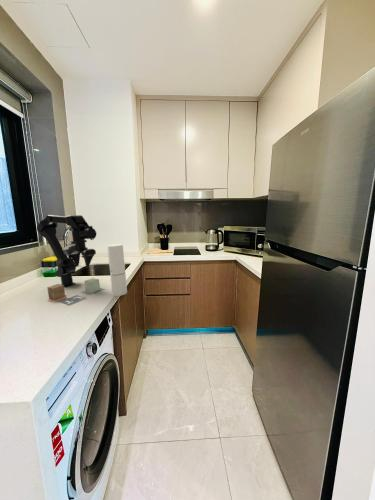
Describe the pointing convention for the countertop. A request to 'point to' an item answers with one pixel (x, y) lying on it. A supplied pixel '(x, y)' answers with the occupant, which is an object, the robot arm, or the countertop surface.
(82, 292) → the code tile
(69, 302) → the tile
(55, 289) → the walnut block
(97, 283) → the sage block
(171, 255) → the countertop surface
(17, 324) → the countertop surface
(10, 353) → the countertop surface
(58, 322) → the countertop surface
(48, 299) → the coaster
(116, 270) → the tall white block
